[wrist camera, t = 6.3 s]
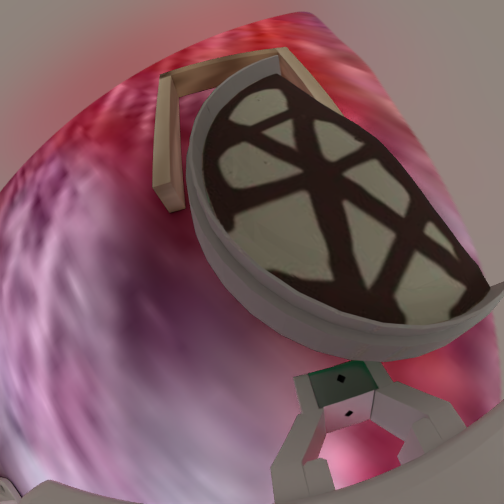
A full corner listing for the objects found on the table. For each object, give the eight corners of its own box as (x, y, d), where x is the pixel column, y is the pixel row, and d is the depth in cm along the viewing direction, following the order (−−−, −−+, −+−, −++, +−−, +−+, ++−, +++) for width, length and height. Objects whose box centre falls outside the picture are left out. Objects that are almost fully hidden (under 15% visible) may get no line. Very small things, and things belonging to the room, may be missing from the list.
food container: (198, 231, 17) (129, 108, 8) (279, 187, 18) (270, 51, 9) (302, 407, 12) (338, 482, 3) (393, 343, 13) (522, 295, 4)
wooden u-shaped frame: (169, 212, 18) (152, 187, 15) (168, 95, 25) (160, 74, 22) (353, 170, 18) (361, 140, 15) (287, 69, 25) (286, 47, 22)
